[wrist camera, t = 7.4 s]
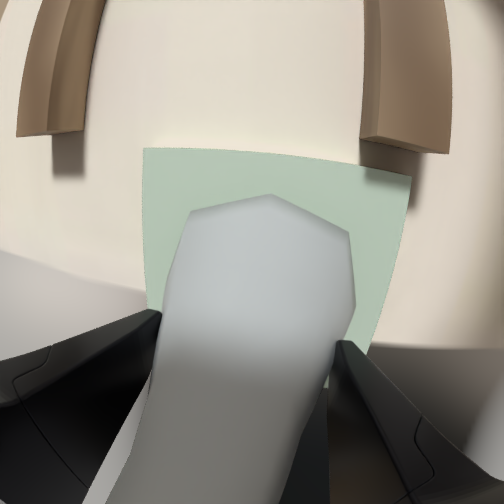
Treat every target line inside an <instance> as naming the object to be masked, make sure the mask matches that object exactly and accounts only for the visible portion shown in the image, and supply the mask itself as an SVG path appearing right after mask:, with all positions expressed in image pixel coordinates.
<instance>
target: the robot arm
mask: <svg viewBox="0 0 504 504" xmlns="http://www.w3.org/2000/svg"><path fill="white" fill-rule="evenodd" d="M161 319H162V313H161V312H160V311H158V310H153V309H146V310H144V311H141V312H138V313H136V314H133V315H130V316H128V317H125V318H122V319H120V320H117V321H115V322H112V323H109V324H107V325H104V326H101V327H99V328H96V329H93V330H90V331H88V332H85V333H83V334H80V335H77V336H75V337H72V338H69V339H66V340H64V341H61V342H58V343H55V344H53V345H52V346H51V345H50V346H47V347H44V348H42V349H39V350H36V351H33V352H30V353H27V354H24V355H20V356H17V357H13V358H9V359H6V360H2V361H0V504H82V503H83V501H84V498H85V496H86V495H87V493H88V490H89V489H88V488H90V486H91V484H92V482H93V480H94V478H95V476H96V474H97V472H98V471H99V469H100V467H101V465H102V463H103V461H104V459H105V457H106V455H107V453H108V451H109V450H110V448H111V446H112V444H113V442H114V440H115V438H116V436H117V434H118V433H119V431H120V429H121V427H122V425H123V423H124V421H125V420H126V418H127V416H128V414H129V412H130V410H131V409H132V407H133V405H134V403H135V401H136V399H137V398H138V396H139V394H140V392H141V391H142V389H143V387H144V385H145V383H146V381H147V379H148V377H149V374H150V372H151V370H152V366H153V360H154V354H155V348H156V342H157V337H158V332H159V327H160V323H161ZM327 428H328V447H329V473H330V504H504V481H501V480H498V479H496V478H494V477H492V476H490V475H489V474H488V473H486V472H485V471H484V470H483V469H481V468H480V467H479V466H478V465H477V464H476V463H474V462H473V461H472V460H471V459H469V458H468V457H467V456H466V455H465V454H464V453H463V452H461V451H460V450H459V449H458V448H457V447H456V446H454V445H453V444H452V443H451V442H450V441H449V440H448V439H447V438H445V437H444V436H443V435H442V434H441V433H440V432H439V431H438V430H437V429H436V428H435V427H434V426H433V425H432V424H431V422H429V420H428V419H427V418H426V417H425V416H422V413H421V412H420V411H419V410H418V409H417V408H416V407H415V406H414V405H413V404H412V403H411V402H410V401H409V399H408V398H407V397H406V396H405V395H404V394H403V393H402V392H401V391H400V390H399V389H398V388H397V387H396V386H395V385H394V384H393V383H392V382H391V381H390V380H389V379H388V378H387V376H386V375H385V374H384V373H383V372H382V371H381V370H380V369H379V368H378V367H377V366H376V365H375V364H374V363H373V362H372V361H371V360H370V359H369V358H368V357H367V356H366V355H365V354H364V353H363V352H362V351H361V349H360V348H359V347H358V346H357V345H356V344H355V343H354V342H353V341H351V340H341V339H340V340H338V341H337V342H336V348H335V355H334V362H333V365H332V367H331V370H330V372H329V380H328V400H327Z"/></svg>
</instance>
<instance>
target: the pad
mask: <svg viewBox="0 0 504 504" xmlns="http://www.w3.org/2000/svg"><path fill="white" fill-rule="evenodd" d="M411 182H412V177H411V176H407V175H403V174H399V173H394V172H389V171H385V170H380V169H375V168H369V167H364V166H358V165H353V164H347V163H341V162H335V161H328V160H321V159H314V158H307V157H299V156H291V155H282V154H272V153H262V152H250V151H237V150H221V149H199V148H144V149H143V176H142V223H143V252H144V269H145V283H146V295H147V305H148V309H153V310H158V311H160V312H161V310H162V303H163V297H164V290H165V286H166V281H167V277H168V274H169V271H170V268H171V265H172V262H173V259H174V256H175V253H176V250H177V247H178V244H179V241H180V238H181V235H182V232H183V229H184V227H185V224H186V221H187V218H188V216H189V213H190V211H192V210H197V209H201V208H205V207H209V206H214V205H218V204H223V203H227V202H232V201H237V200H241V199H246V198H251V197H256V196H260V195H265V194H270V193H271V194H273V195H276V196H278V197H280V198H282V199H284V200H286V201H288V202H290V203H292V204H294V205H296V206H299V207H301V208H303V209H305V210H307V211H309V212H311V213H313V214H315V215H317V216H319V217H321V218H323V219H325V220H327V221H329V222H331V223H333V224H334V225H336V226H338V227H340V228H342V229H344V230H346V231H348V232H349V238H350V246H351V254H352V263H353V273H354V283H355V295H356V309H355V312H354V315H353V318H352V320H351V323H350V325H349V328H348V330H347V333H346V335H345V337H344V340H351V341H353V342H354V343H355V344H356V345H357V346H358V347H359V348H360V349H361V351H362V352H363V353H364V354H365V355H366V354H367V351H368V348H369V346H370V343H371V340H372V337H373V335H374V332H375V329H376V326H377V323H378V320H379V317H380V314H381V311H382V308H383V304H384V301H385V298H386V295H387V291H388V288H389V284H390V281H391V277H392V273H393V270H394V266H395V262H396V258H397V254H398V250H399V245H400V241H401V236H402V232H403V227H404V222H405V217H406V212H407V207H408V201H409V195H410V189H411ZM328 380H329V375H328V377H327V380H326V382H325V384H324V387H323V388H328Z"/></svg>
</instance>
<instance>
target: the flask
mask: <svg viewBox="0 0 504 504" xmlns="http://www.w3.org/2000/svg"><path fill="white" fill-rule="evenodd" d="M355 309H356V295H355V283H354V273H353V263H352V254H351V246H350V238H349V232H348V231H346V230H344V229H342V228H340V227H338V226H336V225H334V224H333V223H331V222H329V221H327V220H325V219H323V218H321V217H319V216H317V215H315V214H313V213H311V212H309V211H307V210H305V209H303V208H301V207H299V206H296V205H294V204H292V203H290V202H288V201H286V200H284V199H282V198H280V197H278V196H276V195H273V194H271V193H270V194H265V195H260V196H256V197H251V198H246V199H241V200H237V201H232V202H227V203H223V204H218V205H214V206H209V207H205V208H201V209H197V210H192V211H190V213H189V216H188V218H187V221H186V224H185V227H184V229H183V232H182V235H181V238H180V241H179V244H178V247H177V250H176V253H175V256H174V259H173V262H172V265H171V268H170V271H169V274H168V277H167V281H166V286H165V290H164V297H163V303H162V310H161V313H162V319H161V323H160V327H159V332H158V337H157V342H156V348H155V354H154V360H153V366H152V372H151V378H150V386H149V392H148V398H147V402H146V404H145V408H144V411H143V414H142V417H141V420H140V423H139V426H138V430H137V433H136V436H135V440H134V443H133V446H132V450H131V453H130V455H129V457H128V459H127V461H126V463H125V465H124V467H123V469H122V471H121V473H120V475H119V477H118V479H117V481H116V483H115V485H114V487H113V489H112V491H111V493H110V495H109V497H108V499H107V501H106V503H105V504H279V501H280V498H281V496H282V493H283V490H284V487H285V484H286V481H287V479H288V476H289V473H290V469H291V466H292V463H293V460H294V457H295V454H296V450H297V447H298V444H299V441H300V437H301V435H302V432H303V430H304V428H305V426H306V424H307V422H308V420H309V418H310V416H311V414H312V411H313V409H314V407H315V405H316V403H317V400H318V398H319V396H320V394H321V391H322V389H323V387H324V384H325V382H326V380H327V377H328V375H329V372H330V370H331V367H332V365H333V362H334V355H335V348H336V342H337V341H338V340H340V339H341V340H344V337H345V335H346V333H347V330H348V328H349V325H350V323H351V320H352V318H353V315H354V312H355Z"/></svg>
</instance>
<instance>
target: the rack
mask: <svg viewBox="0 0 504 504" xmlns="http://www.w3.org/2000/svg"><path fill="white" fill-rule="evenodd" d="M105 1H106V0H43V1H42V4H41V6H40V9H39V12H38V15H37V19H36V22H35V25H34V29H33V32H32V36H31V40H30V44H29V48H28V52H27V57H26V61H25V66H24V72H23V77H22V83H21V90H20V97H19V106H18V116H17V130H16V137H27V136H41V135H54V134H60V133H66V132H73V131H80V130H83V129H84V115H85V104H86V95H87V87H88V80H89V73H90V66H91V61H92V55H93V50H94V45H95V40H96V35H97V31H98V27H99V23H100V19H101V15H102V11H103V7H104V4H105ZM364 27H365V50H364V83H363V101H362V115H361V127H360V138H359V139H361V140H367V141H372V142H376V143H381V144H386V145H390V146H395V147H399V148H403V149H407V150H411V151H415V152H419V153H438V154H449V148H450V136H451V120H452V66H451V50H450V39H449V30H448V22H447V16H446V9H445V3H444V0H364Z"/></svg>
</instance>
